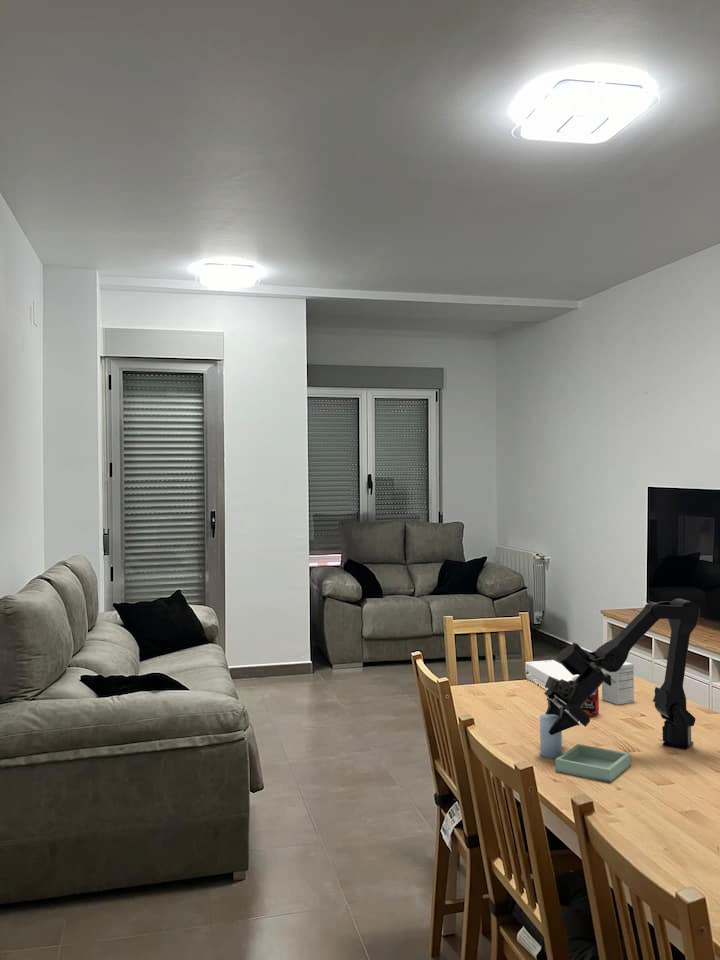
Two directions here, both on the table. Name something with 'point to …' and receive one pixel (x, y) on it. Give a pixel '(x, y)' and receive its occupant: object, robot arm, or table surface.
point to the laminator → (546, 671)
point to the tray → (593, 762)
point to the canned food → (591, 704)
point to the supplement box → (620, 685)
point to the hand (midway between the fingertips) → (545, 730)
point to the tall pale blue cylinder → (549, 737)
